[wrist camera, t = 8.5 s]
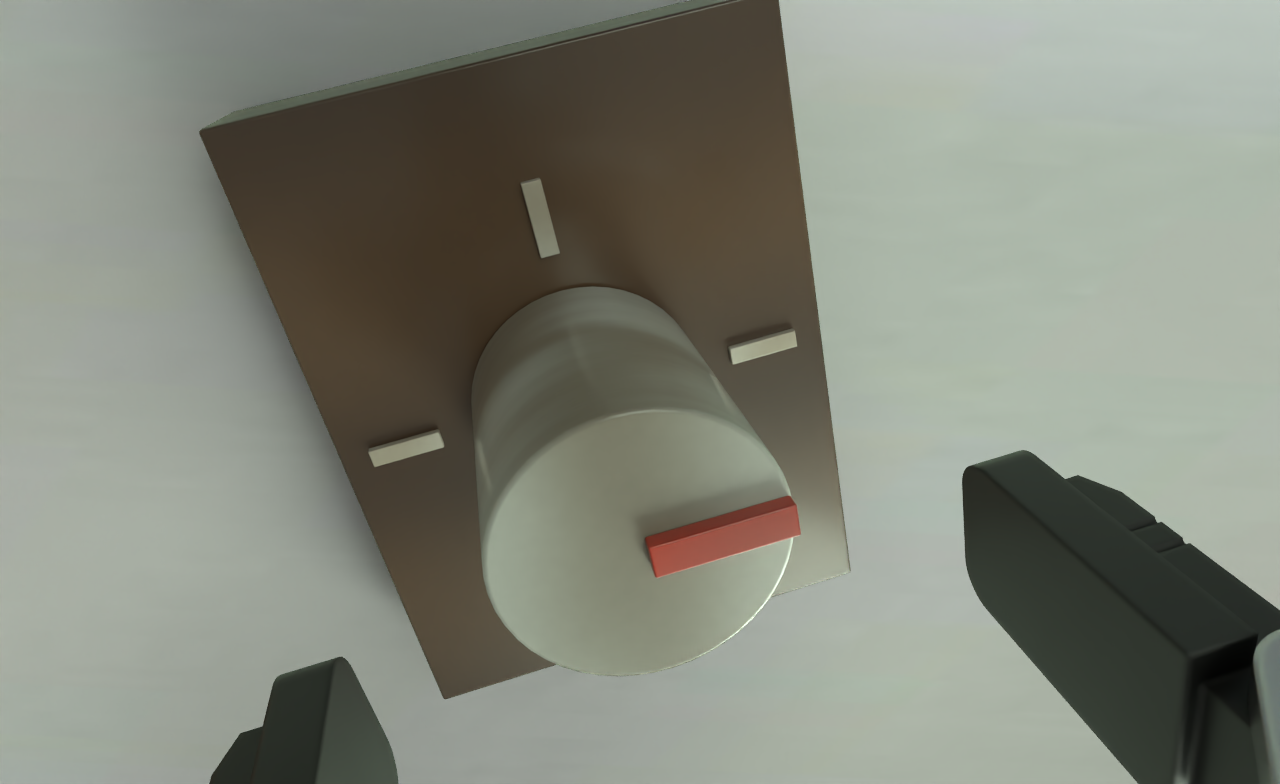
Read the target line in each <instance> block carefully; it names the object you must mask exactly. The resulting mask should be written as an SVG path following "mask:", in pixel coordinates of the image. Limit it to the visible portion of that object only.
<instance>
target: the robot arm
mask: <svg viewBox="0 0 1280 784" xmlns="http://www.w3.org/2000/svg"><path fill="white" fill-rule="evenodd" d="M962 489H963V512H964V536H965V558H966V566H967V570H968V574H969V577H970V580H971V583H972V585H973V588H974V590H975V592H976V594H977V596H978V597H979V599H980V601H981V602H982V604H983V605H984V606H985V608H986V609H987V610H988V611H989V612H990V614H991V615H992V616H993V617H994V618H995V619H996V621H997V622H998V623H999V624H1000V625H1001V626H1002V627H1003V629H1004V630H1005V631H1006V632H1007V633H1008V634H1009V635H1010V637H1011V638H1012V639H1013V640H1014V641H1015V642H1016V644H1017V645H1018V646H1019V647H1020V648H1021V649H1022V650H1023V652H1024V653H1025V654H1026V655H1027V656H1028V657H1029V658H1030V660H1031V661H1032V662H1033V663H1034V664H1035V665H1036V666H1037V668H1038V669H1039V670H1040V671H1041V672H1042V673H1043V675H1044V676H1045V677H1046V678H1047V679H1048V680H1049V681H1050V683H1051V684H1052V685H1053V686H1054V687H1055V688H1056V689H1057V691H1058V692H1059V693H1060V694H1061V695H1062V696H1063V698H1064V699H1065V700H1066V701H1067V702H1068V703H1069V704H1070V706H1071V707H1072V708H1073V709H1074V710H1075V711H1076V712H1077V714H1078V715H1079V716H1080V717H1081V718H1082V719H1083V721H1084V722H1085V723H1086V724H1087V725H1088V726H1089V727H1090V729H1091V730H1092V731H1093V732H1094V733H1095V734H1096V735H1097V737H1098V738H1099V739H1100V740H1101V741H1102V742H1103V744H1104V745H1105V746H1106V747H1107V748H1108V749H1109V750H1110V752H1111V753H1112V754H1113V755H1114V756H1115V757H1116V758H1117V760H1118V761H1119V762H1120V763H1121V764H1122V765H1123V766H1124V768H1125V769H1126V770H1127V771H1128V772H1129V773H1130V775H1131V776H1132V777H1133V778H1134V779H1135V780H1136V781H1137V783H1138V784H1280V610H1278V609H1277V608H1276V607H1274V606H1273V605H1272V604H1270V603H1269V602H1268V601H1266V600H1265V599H1264V598H1262V597H1261V596H1260V595H1258V594H1257V593H1256V592H1254V591H1253V590H1252V589H1250V588H1249V587H1248V586H1246V585H1245V584H1244V583H1242V582H1241V581H1240V580H1238V579H1237V578H1236V577H1234V576H1233V575H1232V574H1230V573H1229V572H1228V571H1226V570H1225V569H1224V568H1222V567H1221V566H1220V565H1218V564H1217V563H1216V562H1214V561H1213V560H1212V559H1210V558H1209V557H1208V556H1206V555H1205V554H1204V553H1202V552H1201V551H1200V550H1198V549H1197V548H1196V547H1194V546H1193V545H1192V544H1190V543H1189V544H1185V543H1184V541H1183V538H1182V537H1181V536H1180V535H1178V534H1177V533H1176V532H1174V531H1173V530H1172V529H1170V528H1169V527H1168V526H1166V525H1165V524H1164V523H1162V522H1160V523H1157V522H1156V520H1155V517H1154V516H1153V515H1152V514H1150V513H1149V512H1148V511H1146V510H1145V509H1144V508H1142V507H1141V506H1140V505H1138V504H1137V503H1135V502H1134V501H1133V500H1131V499H1130V498H1129V497H1127V496H1126V495H1125V494H1123V493H1122V492H1120V491H1118V490H1115V489H1112V488H1110V487H1107V486H1105V485H1102V484H1099V483H1097V482H1094V481H1092V480H1089V479H1086V478H1084V477H1081V476H1079V475H1077V476H1074V477H1071V478H1068V479H1064V478H1063V477H1062V476H1061V475H1059V474H1058V473H1057V472H1055V471H1054V470H1053V469H1052V468H1050V467H1049V466H1048V465H1047V464H1045V463H1044V462H1043V461H1042V460H1040V459H1039V458H1038V457H1037V456H1035V455H1034V454H1032V453H1031V452H1029V451H1025V450H1021V451H1017V452H1014V453H1011V454H1008V455H1004V456H1001V457H998V458H994V459H991V460H988V461H985V462H981V463H978V464H975V465H972V466H969V467H967V468H966V469H965V471H964V473H963V478H962ZM209 784H398V776H397V769H396V764H395V760H394V756H393V752H392V749H391V746H390V744H389V741H388V739H387V737H386V735H385V733H384V731H383V729H382V727H381V725H380V723H379V721H378V719H377V717H376V715H375V713H374V711H373V709H372V707H371V705H370V703H369V701H368V699H367V697H366V695H365V693H364V691H363V689H362V687H361V685H360V683H359V681H358V679H357V677H356V675H355V673H354V671H353V669H352V667H351V665H350V664H349V663H348V661H347V660H346V659H345V658H343V657H338V658H334V659H331V660H328V661H325V662H321V663H318V664H315V665H311V666H308V667H305V668H302V669H298V670H295V671H292V672H289V673H285V674H282V675H280V676H278V677H277V678H276V679H275V681H274V683H273V687H272V690H271V695H270V699H269V703H268V707H267V711H266V715H265V719H264V724H263V727H259V728H256V729H253V730H250V731H247V732H243V733H240V735H239V736H238V738H237V739H236V740H235V742H234V743H233V745H232V746H231V748H230V749H229V751H228V752H227V754H226V755H225V757H224V758H223V760H222V761H221V763H220V764H219V766H218V767H217V768H216V770H215V771H214V773H213V774H212V776H211V780H210V783H209Z"/></svg>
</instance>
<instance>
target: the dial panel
mask: <svg viewBox="0 0 1280 784" xmlns="http://www.w3.org/2000/svg"><path fill="white" fill-rule="evenodd" d="M199 133H200V136H201V138H202V141H203V143H204V145H205V148H206V150H207V152H208V155H209V157H210V159H211V161H212V164H213V166H214V168H215V171H216V173H217V175H218V178H219V180H220V182H221V185H222V187H223V189H224V192H225V194H226V196H227V199H228V201H229V203H230V205H231V208H232V210H233V212H234V215H235V217H236V219H237V222H238V224H239V226H240V229H241V231H242V233H243V236H244V238H245V240H246V242H247V245H248V247H249V249H250V252H251V254H252V256H253V259H254V261H255V263H256V266H257V268H258V270H259V273H260V275H261V277H262V280H263V282H264V284H265V286H266V289H267V291H268V293H269V296H270V298H271V300H272V303H273V305H274V307H275V310H276V312H277V314H278V317H279V319H280V321H281V323H282V326H283V328H284V330H285V333H286V335H287V337H288V340H289V342H290V344H291V347H292V349H293V351H294V354H295V356H296V358H297V360H298V363H299V365H300V367H301V370H302V372H303V374H304V377H305V379H306V381H307V384H308V386H309V388H310V391H311V393H312V395H313V398H314V400H315V402H316V404H317V407H318V409H319V411H320V414H321V416H322V418H323V421H324V423H325V425H326V428H327V430H328V432H329V435H330V437H331V439H332V441H333V444H334V446H335V448H336V451H337V453H338V455H339V458H340V460H341V462H342V465H343V467H344V469H345V472H346V474H347V476H348V478H349V481H350V483H351V485H352V488H353V490H354V492H355V495H356V497H357V499H358V502H359V504H360V506H361V509H362V511H363V513H364V516H365V518H366V520H367V522H368V525H369V527H370V529H371V532H372V534H373V536H374V539H375V541H376V543H377V546H378V548H379V550H380V553H381V555H382V557H383V559H384V562H385V564H386V566H387V569H388V571H389V573H390V576H391V578H392V580H393V583H394V585H395V587H396V590H397V592H398V594H399V597H400V599H401V601H402V603H403V606H404V608H405V610H406V613H407V615H408V617H409V620H410V622H411V624H412V627H413V629H414V631H415V634H416V636H417V638H418V640H419V643H420V645H421V647H422V650H423V652H424V654H425V657H426V659H427V661H428V664H429V666H430V668H431V671H432V673H433V675H434V677H435V680H436V682H437V684H438V687H439V689H440V691H441V694H442V696H443V698H444V699H448V698H451V697H454V696H458V695H461V694H464V693H467V692H470V691H474V690H477V689H480V688H483V687H486V686H489V685H493V684H496V683H499V682H502V681H505V680H509V679H512V678H515V677H518V676H521V675H525V674H528V673H531V672H534V671H537V670H541V669H544V668H547V667H550V666H553V665H556V664H555V663H553V662H550V661H548V660H546V659H544V658H542V657H541V656H539V655H538V654H536V653H534V652H533V651H531V650H530V649H529V648H527V647H526V646H525V645H524V644H522V643H521V642H520V641H519V640H518V639H517V638H516V637H515V636H514V635H513V634H512V633H511V632H510V631H509V630H508V629H507V627H506V626H505V625H504V624H503V622H502V621H501V619H500V618H499V616H498V615H497V613H496V612H495V610H494V608H493V605H492V603H491V601H490V599H489V596H488V594H487V590H486V586H485V582H484V579H483V569H482V558H481V543H480V527H479V512H478V497H477V482H476V466H475V451H474V436H473V421H472V406H471V395H472V384H473V379H474V374H475V370H476V368H477V365H478V362H479V359H480V357H481V355H482V353H483V351H484V349H485V347H486V345H487V344H488V342H489V341H490V340H491V338H492V337H493V335H494V334H495V333H496V331H497V330H498V329H499V328H500V327H501V326H502V325H503V324H504V323H505V322H506V321H507V320H508V319H509V318H510V317H512V316H513V315H514V314H515V313H516V312H518V311H519V310H521V309H522V308H524V307H525V306H527V305H528V304H530V303H532V302H534V301H536V300H538V299H540V298H542V297H544V296H546V295H549V294H552V293H556V292H559V291H562V290H567V289H572V288H578V287H592V286H593V287H609V288H614V289H619V290H624V291H627V292H630V293H633V294H636V295H639V296H641V297H643V298H645V299H647V300H649V301H651V302H652V303H654V304H655V305H657V306H658V307H660V308H661V309H663V310H664V311H665V312H666V313H667V314H668V315H669V316H671V317H672V318H673V319H674V320H675V322H676V323H677V324H678V325H679V326H680V328H681V329H682V330H683V331H684V333H685V334H686V336H687V337H688V338H689V340H690V341H691V343H692V344H693V345H694V347H695V348H696V350H697V351H698V352H699V354H700V355H701V357H702V358H703V359H704V361H705V362H706V364H707V365H708V366H709V368H710V369H711V371H712V372H713V373H714V375H715V376H716V378H717V379H718V380H719V382H720V383H721V385H722V386H723V387H724V389H725V390H726V392H727V393H728V394H729V396H730V397H731V399H732V400H733V401H734V403H735V404H736V406H737V407H738V408H739V410H740V411H741V413H742V414H743V415H744V417H745V418H746V420H747V421H748V422H749V424H750V425H751V427H752V428H753V429H754V431H755V432H756V434H757V435H758V436H759V438H760V439H761V440H762V442H763V443H764V445H765V446H766V447H767V449H768V450H769V452H770V453H771V454H772V456H773V457H774V459H775V460H776V462H777V464H778V465H779V467H780V469H781V470H782V472H783V474H784V476H785V479H786V482H787V484H788V487H789V489H790V493H791V497H792V499H793V500H794V502H795V503H796V505H797V509H798V516H799V523H800V530H801V535H800V536H797V537H794V538H793V543H792V547H791V552H790V556H789V560H788V562H787V565H786V568H785V570H784V573H783V575H782V577H781V579H780V581H779V583H778V585H777V587H776V589H775V591H774V592H773V594H772V595H771V596H770V597H773V596H777V595H780V594H783V593H786V592H789V591H793V590H796V589H799V588H802V587H805V586H809V585H812V584H815V583H818V582H821V581H824V580H828V579H831V578H834V577H837V576H840V575H844V574H847V573H849V572H850V563H849V555H848V547H847V539H846V531H845V523H844V515H843V508H842V500H841V492H840V484H839V476H838V468H837V460H836V452H835V444H834V436H833V428H832V420H831V412H830V404H829V396H828V389H827V381H826V373H825V365H824V357H823V349H822V341H821V333H820V325H819V317H818V309H817V301H816V293H815V285H814V277H813V269H812V262H811V254H810V246H809V238H808V230H807V222H806V214H805V206H804V198H803V190H802V182H801V174H800V166H799V158H798V150H797V143H796V135H795V127H794V119H793V111H792V103H791V95H790V87H789V79H788V71H787V63H786V55H785V47H784V39H783V31H782V23H781V16H780V8H779V0H689V1H685V2H681V3H677V4H673V5H669V6H665V7H661V8H656V9H652V10H648V11H644V12H640V13H636V14H632V15H628V16H624V17H620V18H615V19H611V20H607V21H603V22H599V23H595V24H591V25H587V26H583V27H579V28H575V29H570V30H566V31H562V32H558V33H554V34H550V35H546V36H542V37H538V38H534V39H529V40H525V41H521V42H517V43H513V44H509V45H505V46H501V47H497V48H493V49H489V50H484V51H480V52H476V53H472V54H468V55H464V56H460V57H456V58H452V59H448V60H443V61H439V62H435V63H431V64H427V65H423V66H419V67H415V68H411V69H407V70H403V71H398V72H394V73H390V74H386V75H382V76H378V77H374V78H370V79H366V80H362V81H357V82H353V83H349V84H345V85H341V86H337V87H333V88H329V89H325V90H321V91H317V92H312V93H308V94H304V95H300V96H296V97H292V98H288V99H284V100H280V101H276V102H271V103H267V104H263V105H259V106H255V107H251V108H247V109H243V110H239V111H235V112H232V113H230V114H228V115H227V116H225V117H223V118H221V119H219V120H217V121H216V122H214V123H212V124H210V125H208V126H206V127H204V128H203V129H201V130H200V131H199Z"/></svg>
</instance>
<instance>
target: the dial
mask: <svg viewBox="0 0 1280 784" xmlns="http://www.w3.org/2000/svg"><path fill="white" fill-rule="evenodd" d="M471 406H472V421H473V436H474V451H475V466H476V482H477V497H478V512H479V527H480V543H481V558H482V569H483V579H484V582H485V586H486V590H487V594H488V596H489V599H490V601H491V603H492V605H493V608H494V610H495V612H496V613H497V615H498V616H499V618H500V619H501V621H502V622H503V624H504V625H505V626H506V627H507V629H508V630H509V631H510V632H511V633H512V634H513V635H514V636H515V637H516V638H517V639H518V640H519V641H520V642H521V643H522V644H524V645H525V646H526V647H527V648H529V649H530V650H531V651H533V652H534V653H536V654H538V655H539V656H541V657H542V658H544V659H546V660H548V661H550V662H553V663H555V664H557V665H559V666H562V667H565V668H568V669H572V670H575V671H578V672H583V673H589V674H595V675H606V676H629V675H640V674H647V673H653V672H657V671H661V670H665V669H669V668H673V667H676V666H678V665H681V664H684V663H687V662H689V661H692V660H694V659H696V658H698V657H700V656H702V655H704V654H706V653H708V652H710V651H712V650H713V649H715V648H717V647H718V646H720V645H721V644H723V643H725V642H726V641H727V640H729V639H730V638H731V637H733V636H734V635H735V634H737V633H738V632H739V631H740V630H741V629H742V628H743V627H745V626H746V625H747V624H748V623H749V622H750V621H751V620H752V619H753V618H754V617H755V616H756V614H757V613H758V612H759V611H760V610H761V609H762V608H763V606H764V605H765V604H766V602H767V601H768V599H769V598H770V596H771V595H772V594H773V592H774V591H775V589H776V587H777V585H778V583H779V581H780V579H781V577H782V575H783V573H784V570H785V568H786V565H787V562H788V560H789V556H790V552H791V547H792V543H793V538H794V537H797V536H800V535H801V530H800V523H799V516H798V509H797V505H796V503H795V502H794V500H793V499H792V497H791V493H790V489H789V487H788V484H787V482H786V479H785V476H784V474H783V472H782V470H781V469H780V467H779V465H778V464H777V462H776V460H775V459H774V457H773V456H772V454H771V453H770V452H769V450H768V449H767V447H766V446H765V445H764V443H763V442H762V440H761V439H760V438H759V436H758V435H757V434H756V432H755V431H754V429H753V428H752V427H751V425H750V424H749V422H748V421H747V420H746V418H745V417H744V415H743V414H742V413H741V411H740V410H739V408H738V407H737V406H736V404H735V403H734V401H733V400H732V399H731V397H730V396H729V394H728V393H727V392H726V390H725V389H724V387H723V386H722V385H721V383H720V382H719V380H718V379H717V378H716V376H715V375H714V373H713V372H712V371H711V369H710V368H709V366H708V365H707V364H706V362H705V361H704V359H703V358H702V357H701V355H700V354H699V352H698V351H697V350H696V348H695V347H694V345H693V344H692V343H691V341H690V340H689V338H688V337H687V336H686V334H685V333H684V331H683V330H682V329H681V328H680V326H679V325H678V324H677V323H676V322H675V320H674V319H673V318H672V317H671V316H669V315H668V314H667V313H666V312H665V311H664V310H663V309H661V308H660V307H658V306H657V305H655V304H654V303H652V302H651V301H649V300H647V299H645V298H643V297H641V296H639V295H636V294H633V293H630V292H627V291H624V290H619V289H614V288H609V287H593V286H592V287H578V288H572V289H567V290H562V291H559V292H556V293H552V294H549V295H546V296H544V297H542V298H540V299H538V300H536V301H534V302H532V303H530V304H528V305H527V306H525V307H524V308H522V309H521V310H519V311H518V312H516V313H515V314H514V315H513V316H512V317H510V318H509V319H508V320H507V321H506V322H505V323H504V324H503V325H502V326H501V327H500V328H499V329H498V330H497V331H496V333H495V334H494V335H493V337H492V338H491V340H490V341H489V342H488V344H487V345H486V347H485V349H484V351H483V353H482V355H481V357H480V359H479V362H478V365H477V368H476V370H475V374H474V379H473V384H472V395H471Z"/></svg>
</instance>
